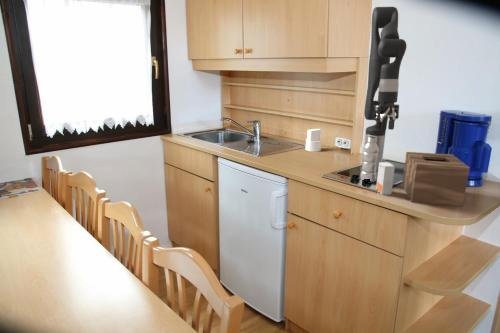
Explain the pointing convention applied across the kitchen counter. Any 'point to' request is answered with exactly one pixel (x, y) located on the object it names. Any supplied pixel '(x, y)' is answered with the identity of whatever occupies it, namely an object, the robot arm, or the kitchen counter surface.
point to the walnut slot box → (435, 178)
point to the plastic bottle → (370, 159)
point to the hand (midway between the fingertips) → (384, 130)
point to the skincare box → (385, 178)
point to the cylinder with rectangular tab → (313, 140)
